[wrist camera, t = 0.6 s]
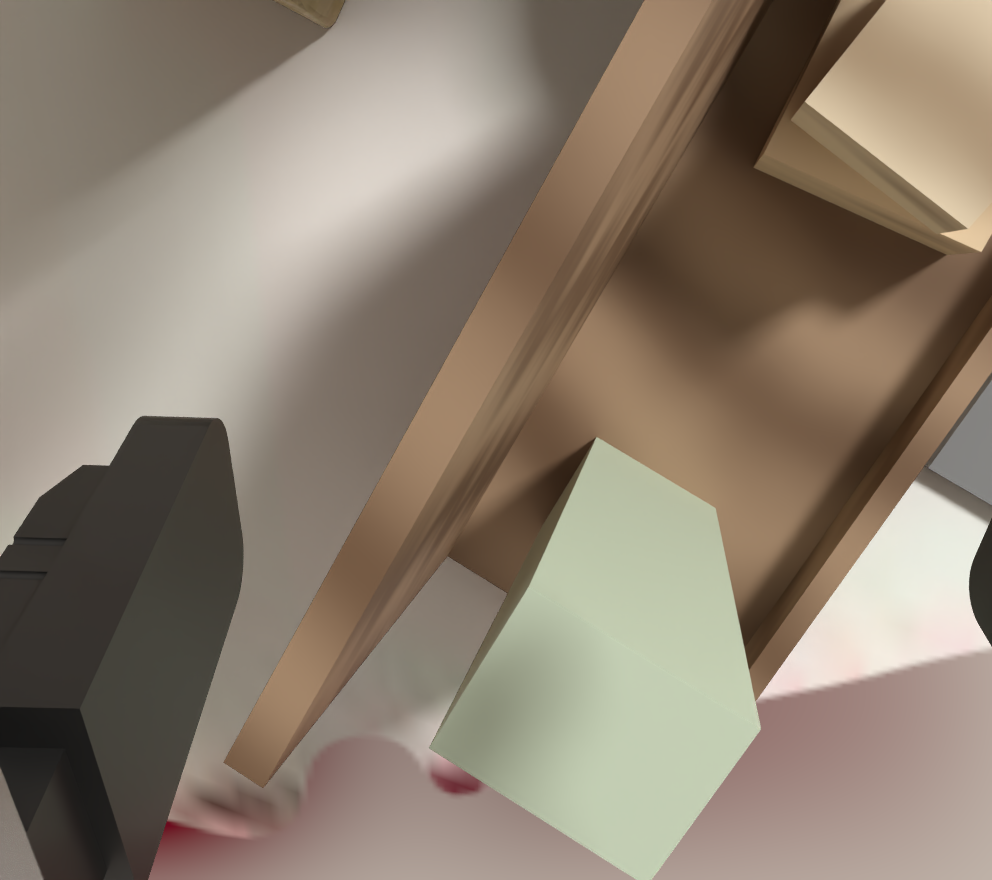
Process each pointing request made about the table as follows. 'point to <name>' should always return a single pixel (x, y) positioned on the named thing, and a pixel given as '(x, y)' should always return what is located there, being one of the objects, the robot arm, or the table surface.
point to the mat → (969, 447)
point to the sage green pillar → (612, 669)
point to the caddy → (316, 10)
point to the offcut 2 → (915, 108)
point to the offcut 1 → (828, 175)
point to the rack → (666, 360)
